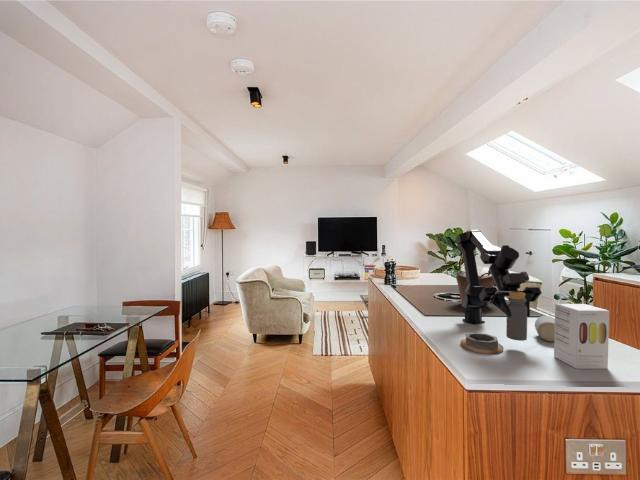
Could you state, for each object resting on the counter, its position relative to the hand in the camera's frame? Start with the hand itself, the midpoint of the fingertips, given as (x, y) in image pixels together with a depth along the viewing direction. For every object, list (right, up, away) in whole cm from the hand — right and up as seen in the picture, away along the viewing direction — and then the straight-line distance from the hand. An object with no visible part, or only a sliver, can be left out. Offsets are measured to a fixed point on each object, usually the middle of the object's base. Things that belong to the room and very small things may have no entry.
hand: (519, 316), depth 108 cm
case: (+17, -10, +65) cm, 68 cm away
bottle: (0, -8, +2) cm, 8 cm away
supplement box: (+12, -12, -10) cm, 20 cm away
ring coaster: (-10, -11, +4) cm, 16 cm away
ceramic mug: (+19, -11, +11) cm, 25 cm away
